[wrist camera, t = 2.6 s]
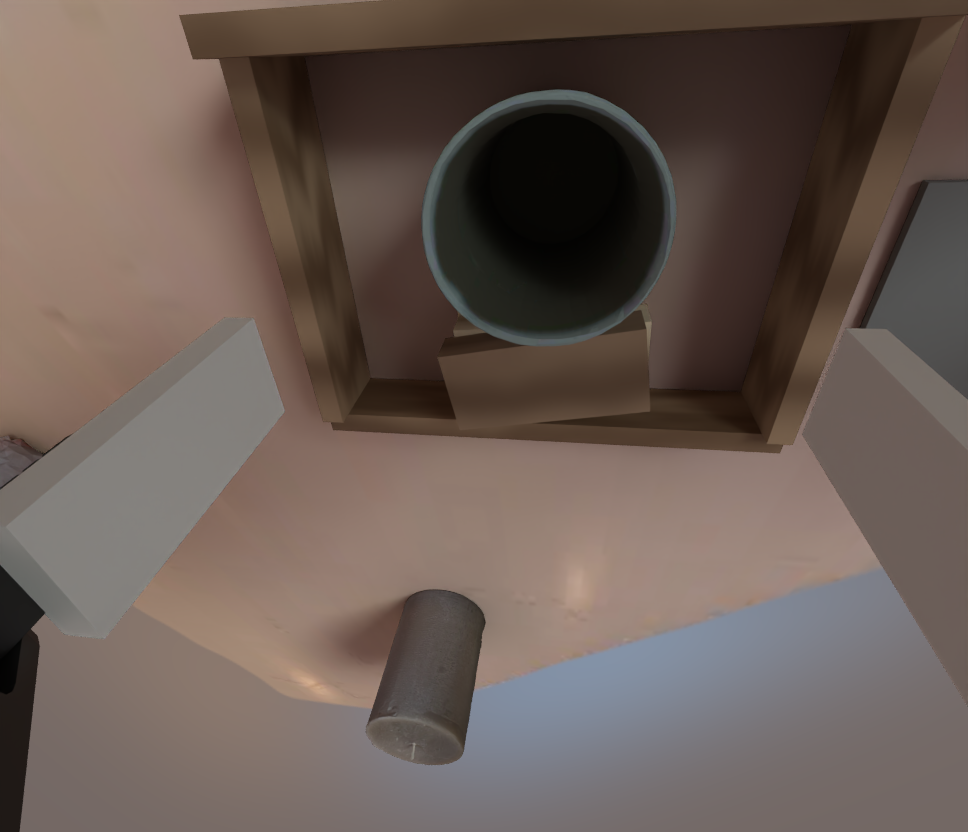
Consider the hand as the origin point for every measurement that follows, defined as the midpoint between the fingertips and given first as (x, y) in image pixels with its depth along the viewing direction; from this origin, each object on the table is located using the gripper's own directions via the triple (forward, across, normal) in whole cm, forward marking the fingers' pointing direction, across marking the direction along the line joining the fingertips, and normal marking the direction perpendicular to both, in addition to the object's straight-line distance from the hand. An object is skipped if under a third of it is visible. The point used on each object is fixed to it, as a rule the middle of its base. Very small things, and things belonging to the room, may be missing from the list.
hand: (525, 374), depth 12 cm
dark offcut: (+18, 0, -10) cm, 21 cm away
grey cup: (+23, 0, 0) cm, 23 cm away
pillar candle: (+23, -11, -46) cm, 53 cm away
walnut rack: (+22, 0, -4) cm, 23 cm away
